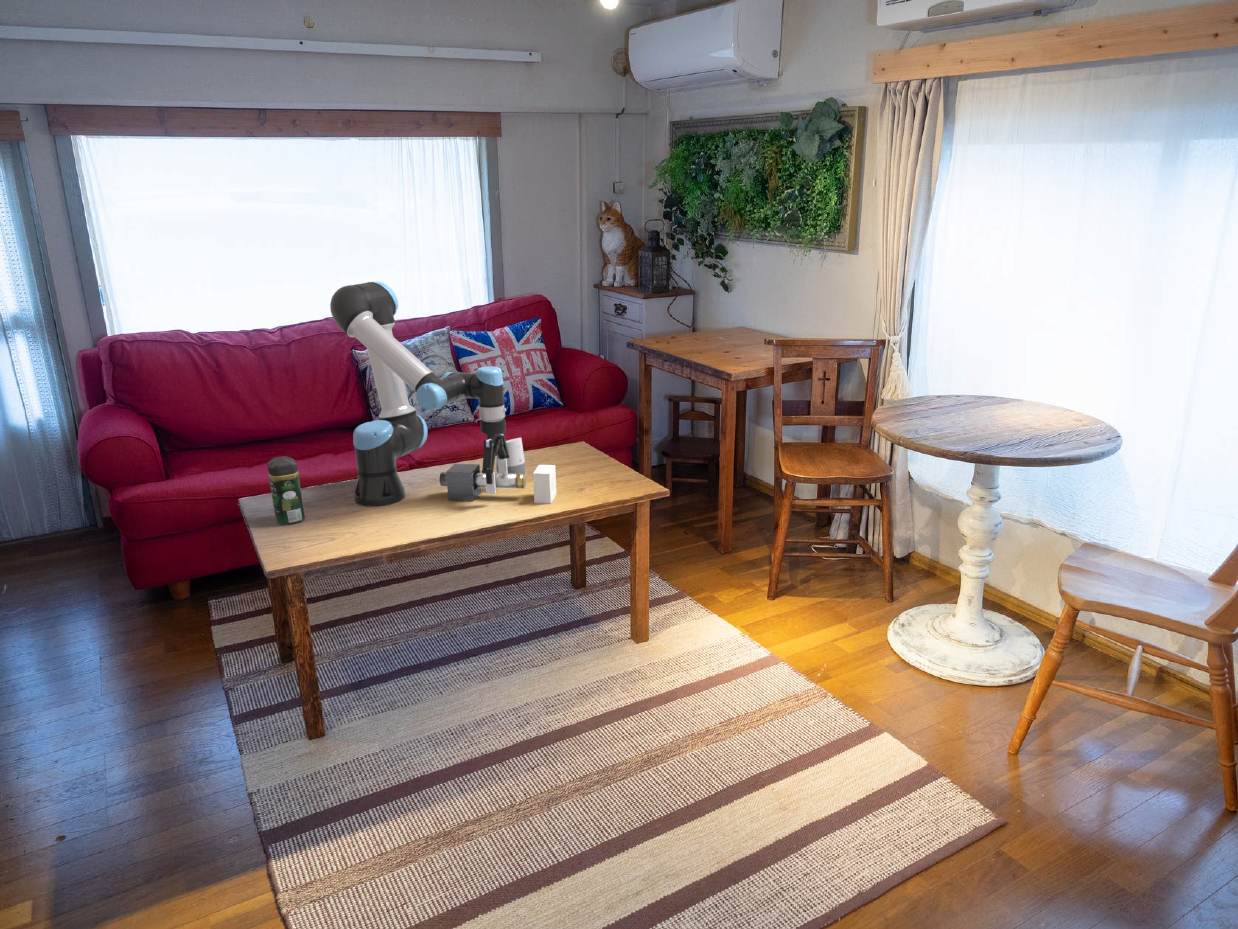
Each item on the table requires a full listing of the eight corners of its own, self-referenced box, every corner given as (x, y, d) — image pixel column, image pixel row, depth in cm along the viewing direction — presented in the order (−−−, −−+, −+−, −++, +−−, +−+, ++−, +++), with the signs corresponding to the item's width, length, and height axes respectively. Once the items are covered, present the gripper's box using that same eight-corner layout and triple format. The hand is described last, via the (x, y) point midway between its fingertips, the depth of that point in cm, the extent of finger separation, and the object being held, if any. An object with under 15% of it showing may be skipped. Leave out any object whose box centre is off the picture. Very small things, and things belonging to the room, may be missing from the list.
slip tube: (440, 488, 263) (438, 474, 262) (445, 483, 268) (443, 469, 266) (522, 490, 260) (521, 476, 258) (526, 485, 264) (525, 471, 263)
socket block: (534, 503, 258) (532, 473, 256) (540, 494, 266) (539, 464, 263) (550, 503, 258) (549, 473, 255) (556, 494, 265) (555, 465, 263)
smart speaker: (510, 472, 287) (508, 432, 283) (531, 477, 282) (529, 436, 278) (491, 480, 280) (488, 439, 276) (512, 485, 275) (509, 443, 271)
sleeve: (448, 500, 262) (445, 471, 259) (457, 491, 270) (454, 463, 267) (473, 501, 261) (471, 472, 258) (481, 492, 269) (479, 464, 266)
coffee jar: (273, 517, 252) (264, 456, 246) (301, 512, 255) (293, 452, 250) (278, 527, 243) (268, 465, 238) (307, 522, 247) (298, 460, 241)
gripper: (493, 430, 244) (498, 500, 251) (515, 409, 268) (519, 473, 274) (467, 429, 245) (473, 499, 252) (492, 408, 269) (496, 473, 275)
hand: (497, 486), depth 263 cm, fingers open, 13 cm apart
